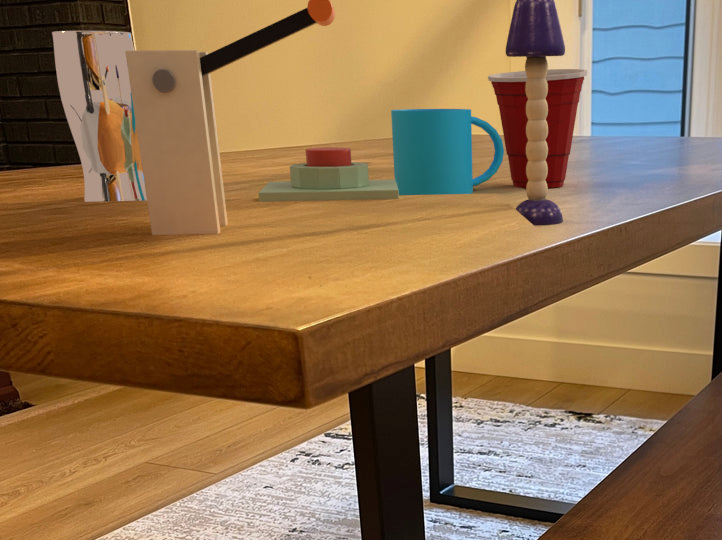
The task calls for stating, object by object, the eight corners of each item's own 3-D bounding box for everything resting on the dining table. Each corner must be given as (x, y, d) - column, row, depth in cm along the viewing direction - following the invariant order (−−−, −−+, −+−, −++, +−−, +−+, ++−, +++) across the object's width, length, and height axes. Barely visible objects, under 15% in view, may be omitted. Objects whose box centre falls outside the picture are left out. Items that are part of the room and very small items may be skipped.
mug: (408, 198, 100) (404, 111, 97) (386, 191, 107) (381, 109, 104) (518, 193, 105) (517, 109, 101) (490, 186, 111) (489, 107, 108)
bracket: (278, 238, 75) (260, 52, 70) (267, 258, 67) (245, 49, 62) (127, 242, 74) (98, 53, 69) (97, 262, 66) (61, 49, 61)
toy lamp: (564, 226, 81) (567, -5, 74) (507, 227, 81) (505, -5, 74) (561, 219, 85) (564, -1, 78) (506, 219, 85) (505, 0, 78)
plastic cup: (469, 187, 111) (466, 69, 106) (526, 179, 119) (526, 69, 114) (549, 193, 105) (550, 68, 100) (604, 184, 113) (607, 68, 108)
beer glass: (165, 210, 93) (140, 31, 87) (86, 215, 90) (55, 29, 84) (149, 203, 98) (125, 34, 92) (74, 207, 95) (44, 33, 89)
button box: (260, 218, 87) (255, 170, 85) (271, 205, 96) (266, 161, 94) (399, 215, 88) (397, 168, 86) (396, 203, 97) (394, 159, 95)
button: (305, 171, 88) (304, 150, 88) (308, 167, 92) (306, 147, 91) (351, 170, 89) (350, 149, 88) (352, 167, 92) (350, 147, 92)
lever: (341, 26, 69) (325, -10, 68) (339, 22, 64) (322, -17, 63) (170, 107, 69) (151, 72, 68) (154, 108, 64) (134, 71, 63)
